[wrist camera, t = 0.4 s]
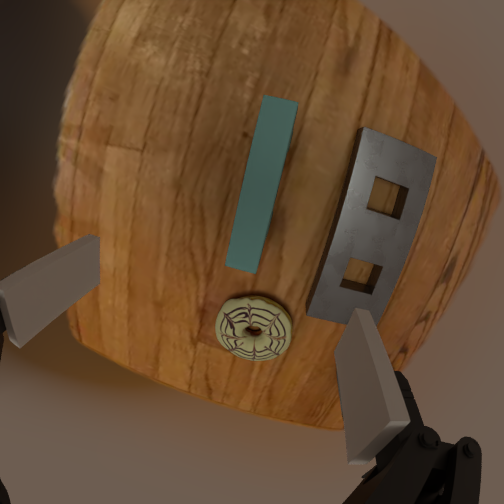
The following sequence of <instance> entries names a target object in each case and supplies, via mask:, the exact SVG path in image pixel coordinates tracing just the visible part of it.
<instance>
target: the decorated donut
mask: <svg viewBox="0 0 504 504" xmlns="http://www.w3.org/2000/svg"><path fill="white" fill-rule="evenodd" d="M248 326H258V327H260V328H261V331H257V332H256V331H251V330H248V329H247V328H246V327H248ZM215 328H216V335H217V339H218V340H219V342H220V343H221V344H222V345H223V346H224V347H225V348H226V349H228V350H229V351H230V352H232V353H233V354H235V355H236V356H238V357H241V358H244V359H248V360H252V361H263V360H270V359H273V358H276V357H277V356H278V355H280V354H282V353H283V352H284V351H285V350H287V348H288V346H289V344H290V341H291V338H292V320H291V318H290V316H289V314H288V313H287V312H286V311H285V310H284V308H283V307H282V306H281V305H279V304H278V303H276V302H275V301H273V300H271V299H269V298H266V297H261V296H255V295H252V296H245V297H241V298H238V299H229V300H228V301H226V302H225V303H224V305H223V306H222V308H221V310H220V312H219V313H218V316H217V320H216V325H215Z"/></svg>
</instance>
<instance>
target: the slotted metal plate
mask: <svg viewBox="0 0 504 504" xmlns="http://www.w3.org/2000/svg"><path fill="white" fill-rule="evenodd" d="M436 159H437V157H435V156H433V155H431V154H429V153H427V152H425V151H423V150H420V149H418V148H416V147H414V146H411V145H409V144H407V143H405V142H402V141H400V140H397V139H395V138H392V137H390V136H387V135H385V134H382V133H380V132H377V131H374V130H372V129H369V128H366V127H362V128H360V129H358V130H357V135H356V139H355V143H354V147H353V151H352V155H351V159H350V163H349V167H348V171H347V174H346V178H345V182H344V186H343V189H342V193H341V196H340V200H339V203H338V207H337V210H336V214H335V217H334V220H333V224H332V227H331V230H330V233H329V237H328V240H327V243H326V246H325V249H324V252H323V255H322V258H321V261H320V264H319V267H318V270H317V273H316V276H315V279H314V282H313V285H312V288H311V290H310V293H309V296H308V299H307V302H306V315H307V316H311V317H315V318H319V319H324V320H328V321H332V322H337V323H341V324H346V325H347V324H348V322H349V320H350V318H351V316H352V313H353V311H354V309H355V307H356V308H360V309H364V310H368V311H370V314H371V316H372V318H373V321H374V323H375V325H376V326H377V324H378V322H379V320H380V318H381V316H382V314H383V312H384V309H385V307H386V305H387V303H388V301H389V299H390V296H391V294H392V292H393V290H394V287H395V285H396V283H397V280H398V278H399V276H400V273H401V271H402V268H403V266H404V263H405V261H406V258H407V255H408V253H409V250H410V247H411V245H412V242H413V239H414V236H415V233H416V230H417V227H418V224H419V221H420V218H421V215H422V212H423V209H424V205H425V202H426V198H427V195H428V191H429V188H430V184H431V180H432V176H433V172H434V168H435V164H436ZM375 177H378V178H381V179H383V180H386V181H389V182H391V183H394V184H397V185H399V186H400V189H399V192H398V196H397V199H396V202H395V206H394V209H393V212H392V215H389V214H386V213H383V212H380V211H377V210H374V209H371V208H368V207H367V204H368V201H369V197H370V194H371V190H372V187H373V183H374V179H375ZM350 257H352V258H355V259H359V260H362V261H366V262H369V263H373V264H374V267H373V270H372V272H371V275H370V277H369V280H368V282H367V285H365V284H361V283H357V282H353V281H350V280H346V279H342V278H343V276H344V273H345V270H346V267H347V265H348V262H349V259H350Z"/></svg>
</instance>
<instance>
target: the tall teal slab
mask: <svg viewBox="0 0 504 504" xmlns="http://www.w3.org/2000/svg"><path fill="white" fill-rule="evenodd" d="M297 110H298V102H295V101H290V100H286V99H282V98H277V97H272V96H267V95H264V96H263V100H262V104H261V108H260V112H259V116H258V120H257V124H256V129H255V133H254V137H253V141H252V145H251V150H250V154H249V158H248V162H247V167H246V171H245V175H244V180H243V184H242V189H241V193H240V198H239V202H238V207H237V211H236V216H235V220H234V225H233V229H232V234H231V239H230V243H229V248H228V253H227V258H226V263H225V266H228V267H232V268H235V269H239V270H243V271H247V272H250V273H254V274H256V271H257V268H258V265H259V262H260V258H261V254H262V250H263V247H264V243H265V240H266V237H267V234H268V231H269V227H270V223H271V219H272V215H273V207H274V203H275V199H276V195H277V191H278V187H279V183H280V179H281V175H282V171H283V167H284V163H285V159H286V155H287V152H288V151H289V147H290V143H291V139H292V135H293V127H294V122H295V118H296V114H297Z"/></svg>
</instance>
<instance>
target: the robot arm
mask: <svg viewBox="0 0 504 504" xmlns="http://www.w3.org/2000/svg"><path fill="white" fill-rule="evenodd" d="M99 284H100V237H97V236H94V235H91V234H88V235H86V236H84V237H82V238H80V239H78V240H76V241H74V242H72V243H70V244H68V245H65V246H63V247H61V248H60V249H58V250H56V251H54V252H52V253H50V254H48V255H46V256H44V257H42V258H40V259H38V260H36V261H35V262H33V263H31V264H29V265H27V266H25V267H23V268H21V269H19V270H18V271H17V272H14V273H12V274H11V275H9V276H7V277H5V278H4V279H2V280H1V281H0V360H1V354H2V348H3V342H4V336H3V332H4V331H5V330H7V333H8V336H9V339H10V341H11V342H12V343H14V344H15V345H16V346H17V347H19V348H21V347H22V346H23V345H25V344H26V343H27V342H28V341H29V340H30V339H31V338H33V337H34V336H35V335H36V334H37V333H38V332H40V331H41V330H42V329H43V328H44V327H46V326H47V325H48V324H49V323H50V322H52V321H53V320H54V319H55V318H56V317H58V316H59V315H60V314H61V313H62V312H64V311H65V310H66V309H68V308H69V307H70V306H71V305H73V304H74V303H75V302H76V301H78V300H79V299H80V298H82V297H83V296H84V295H85V294H87V293H88V292H89V291H91V290H92V289H93V288H95V287H96V286H97V285H99ZM334 354H335V361H336V367H337V374H338V381H339V388H340V395H341V403H342V411H343V420H344V429H345V438H346V449H347V461H348V464H367V463H368V462H370V461H371V460H372V459H373V458H374V457H376V464H377V465H376V466H374V467H373V468H372V469H371V470H370V471H368V472H367V473H366V474H364V475H363V476H362V478H364V479H363V480H362V482H361V483H360V484H359V485H358V486H357V488H356V489H355V490H354V491H353V492H352V494H351V495H350V496H349V497H348V498H347V499H346V500H345V502H343V503H342V504H478V503H479V494H480V483H481V460H482V453H481V448H480V446H479V444H478V442H476V440H474V439H472V438H471V437H463V438H461V439H460V440H459V441H458V442H457V443H456V444H455V445H454V444H450V443H445V442H441V440H440V437H439V435H438V434H437V432H436V431H434V430H433V429H432V428H430V427H427V426H424V424H423V421H422V418H421V416H420V413H419V409H418V407H417V404H416V402H415V399H414V396H413V393H412V392H411V388H410V385H409V383H408V380H407V379H406V378H405V377H404V375H403V374H402V373H401V372H400V371H393V368H392V365H391V363H390V360H389V358H388V355H387V352H386V350H385V347H384V345H383V342H382V340H381V337H380V335H379V333H378V330H377V328H376V325H375V323H374V321H373V318H372V316H371V314H370V311H368V310H364V309H360V308H356V307H355V309H354V311H353V313H352V316H351V318H350V320H349V322H348V324H347V326H346V329H345V331H344V333H343V335H342V337H341V339H340V341H339V343H338V345H337V347H336V349H335V351H334ZM443 488H444V489H443ZM0 504H11V503H10V499H9V495H8V493H7V490H6V488H5V486H4V485H3V483H2V482H1V479H0Z"/></svg>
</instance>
